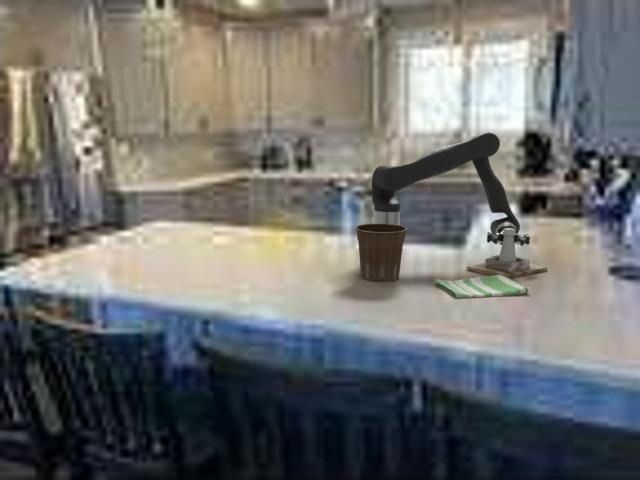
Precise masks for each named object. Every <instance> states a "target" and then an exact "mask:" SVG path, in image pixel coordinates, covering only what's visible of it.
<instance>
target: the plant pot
mask: <svg viewBox="0 0 640 480" xmlns="http://www.w3.org/2000/svg"><path fill="white" fill-rule="evenodd" d="M354 229H355V231H356V239H357V241H358V254H359V268H360V269H359V272H360V277H361V279H364V280H366V281H369V282H379V283H380V282H381V281H384V282H394V281H397V280H399V279H400V272H401V263H402V255H403V248H404V247H403V246H404V242H405V238H406V233H407V231H408V227H406V226H404V225H393V224H374V223H364V224H358V225H356V226H355V227H354Z"/></svg>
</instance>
